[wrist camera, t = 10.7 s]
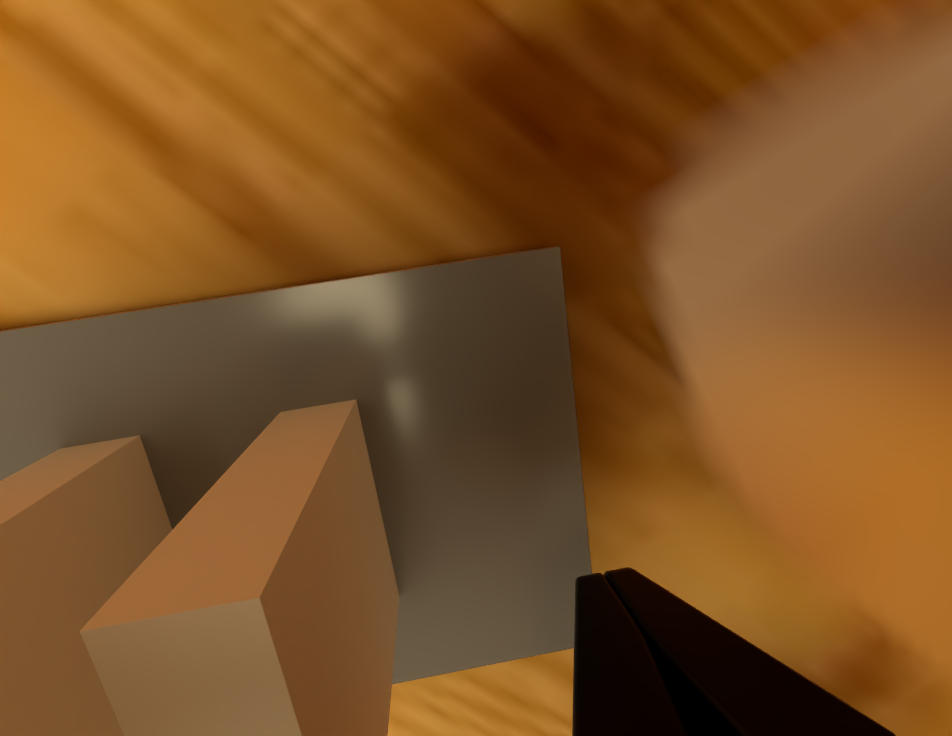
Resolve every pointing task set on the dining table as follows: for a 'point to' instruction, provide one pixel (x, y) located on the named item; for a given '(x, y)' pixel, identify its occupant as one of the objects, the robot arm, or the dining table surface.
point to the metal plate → (383, 421)
